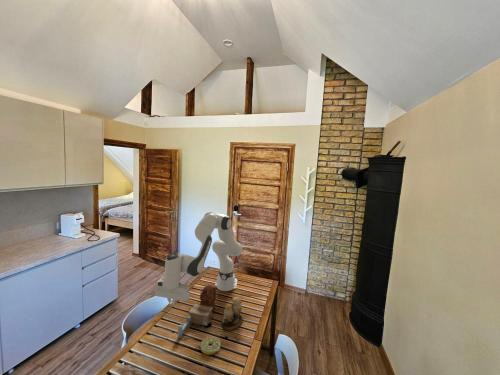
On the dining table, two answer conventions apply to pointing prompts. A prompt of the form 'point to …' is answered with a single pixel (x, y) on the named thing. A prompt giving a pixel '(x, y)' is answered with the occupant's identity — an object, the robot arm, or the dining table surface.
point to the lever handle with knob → (183, 327)
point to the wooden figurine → (208, 296)
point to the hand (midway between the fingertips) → (172, 305)
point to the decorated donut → (210, 345)
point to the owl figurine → (232, 315)
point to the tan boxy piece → (200, 314)
